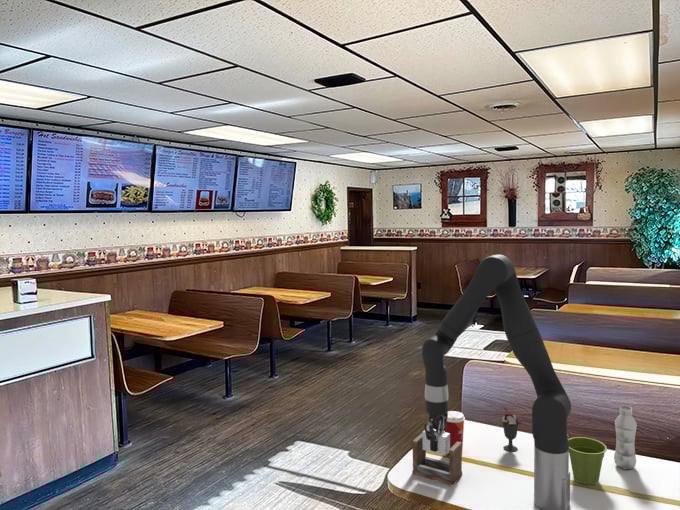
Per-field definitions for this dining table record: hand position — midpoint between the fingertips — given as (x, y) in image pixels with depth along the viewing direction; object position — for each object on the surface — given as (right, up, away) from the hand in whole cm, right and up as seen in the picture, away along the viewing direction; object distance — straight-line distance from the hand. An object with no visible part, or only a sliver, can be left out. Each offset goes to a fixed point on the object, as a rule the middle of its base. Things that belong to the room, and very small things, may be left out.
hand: (436, 448), depth 169 cm
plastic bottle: (+62, -7, +2) cm, 63 cm away
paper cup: (+9, -8, +15) cm, 19 cm away
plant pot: (+46, -8, -5) cm, 47 cm away
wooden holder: (0, -9, +1) cm, 9 cm away
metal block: (0, -1, 0) cm, 1 cm away
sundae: (+30, -7, +17) cm, 35 cm away
